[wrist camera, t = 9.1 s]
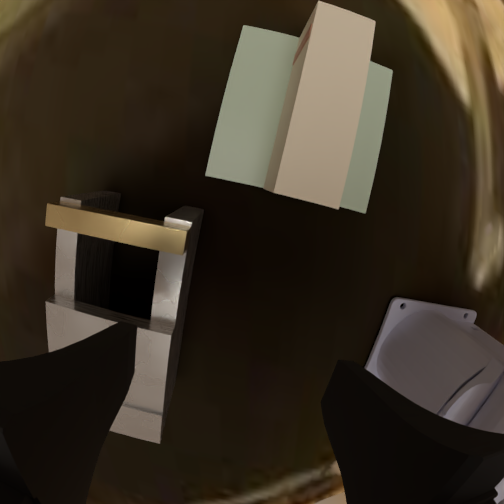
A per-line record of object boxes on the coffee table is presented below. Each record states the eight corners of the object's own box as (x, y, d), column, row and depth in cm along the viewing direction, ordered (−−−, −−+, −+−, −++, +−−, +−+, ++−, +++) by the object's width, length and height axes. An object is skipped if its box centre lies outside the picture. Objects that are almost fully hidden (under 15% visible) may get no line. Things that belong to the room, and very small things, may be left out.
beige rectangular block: (345, 53, 16) (376, 21, 12) (312, 201, 19) (339, 209, 14) (298, 38, 16) (317, 0, 11) (262, 188, 18) (272, 192, 13)
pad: (388, 72, 17) (392, 70, 17) (361, 212, 19) (365, 213, 19) (243, 29, 16) (243, 25, 16) (206, 175, 18) (205, 175, 18)
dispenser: (204, 209, 19) (188, 226, 12) (176, 378, 22) (159, 443, 15) (104, 190, 18) (48, 199, 12) (93, 356, 21) (56, 411, 14)
